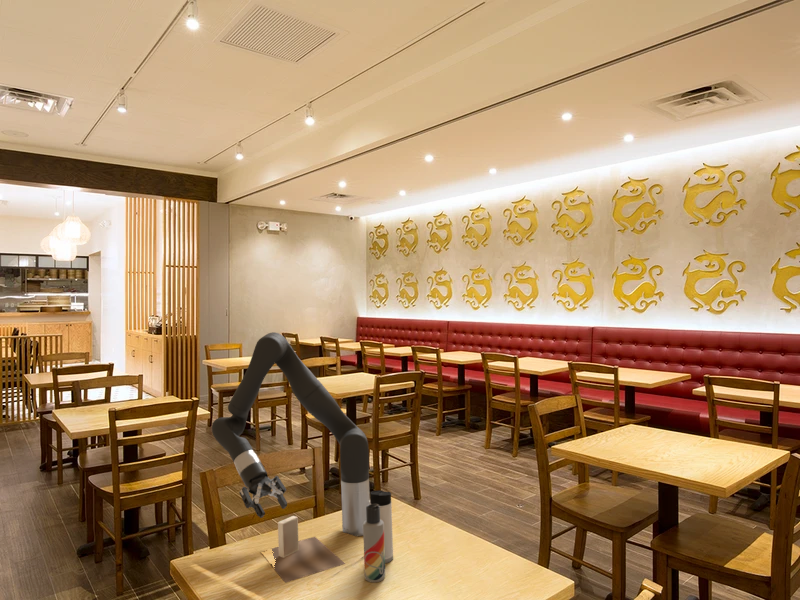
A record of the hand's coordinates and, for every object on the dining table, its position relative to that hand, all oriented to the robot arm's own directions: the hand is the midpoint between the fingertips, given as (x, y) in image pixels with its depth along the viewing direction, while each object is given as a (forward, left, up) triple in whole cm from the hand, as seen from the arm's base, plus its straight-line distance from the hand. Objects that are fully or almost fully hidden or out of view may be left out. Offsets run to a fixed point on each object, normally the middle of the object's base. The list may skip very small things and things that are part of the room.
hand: (274, 511), depth 166 cm
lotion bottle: (-17, +32, -12) cm, 38 cm away
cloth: (-4, +11, -12) cm, 17 cm away
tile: (-2, +6, -11) cm, 13 cm away
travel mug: (-24, +24, -12) cm, 36 cm away
